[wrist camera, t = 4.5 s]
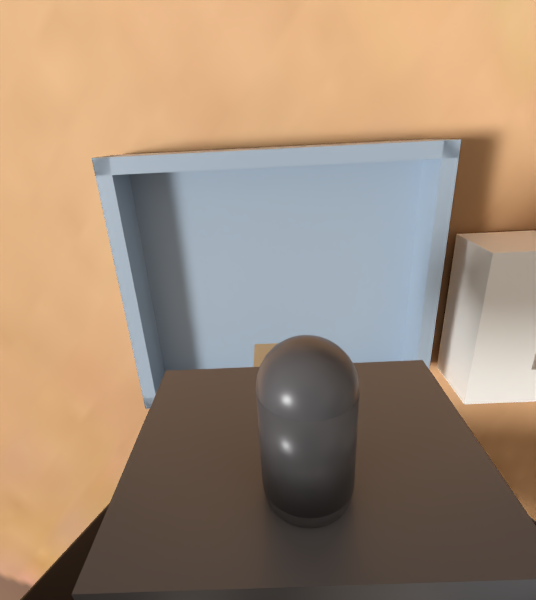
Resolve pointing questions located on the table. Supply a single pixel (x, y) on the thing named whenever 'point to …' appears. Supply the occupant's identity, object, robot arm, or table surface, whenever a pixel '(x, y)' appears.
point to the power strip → (491, 318)
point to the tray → (278, 249)
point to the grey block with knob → (309, 490)
